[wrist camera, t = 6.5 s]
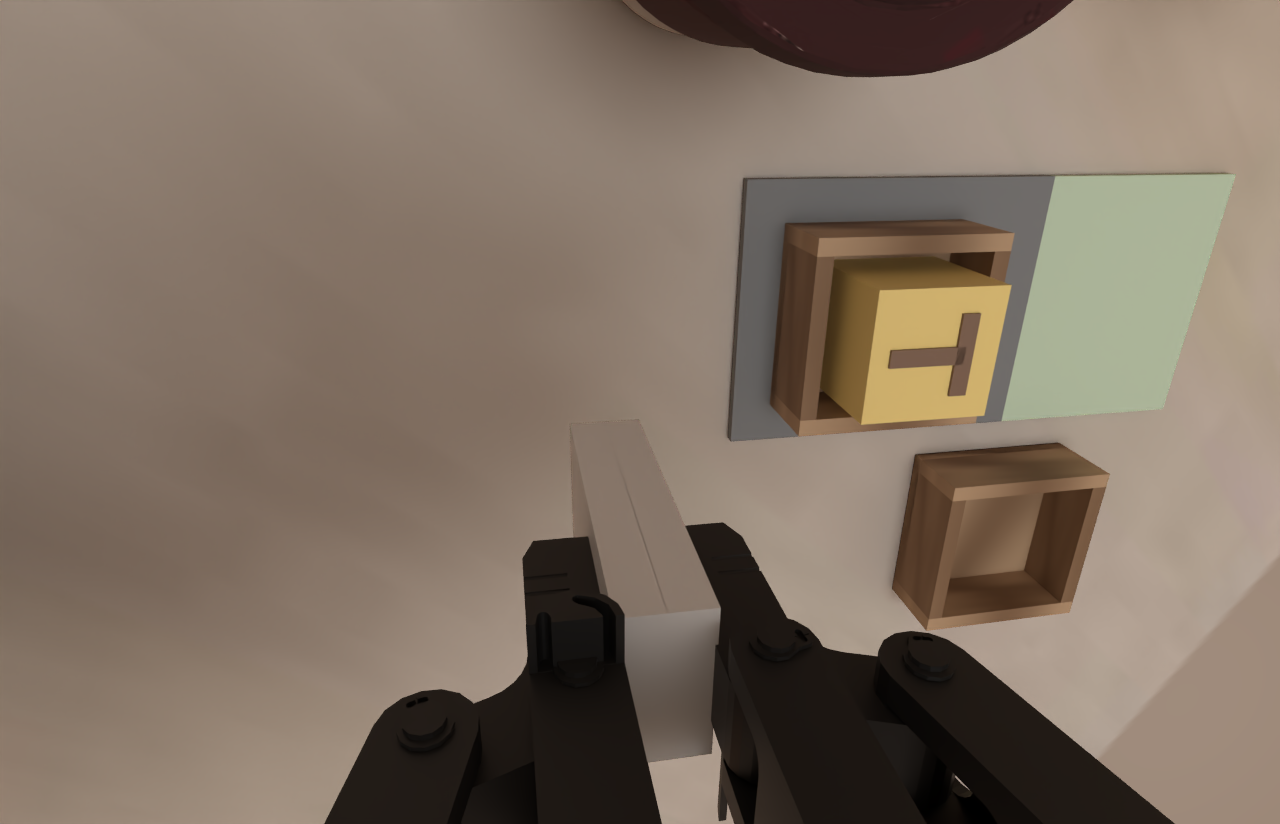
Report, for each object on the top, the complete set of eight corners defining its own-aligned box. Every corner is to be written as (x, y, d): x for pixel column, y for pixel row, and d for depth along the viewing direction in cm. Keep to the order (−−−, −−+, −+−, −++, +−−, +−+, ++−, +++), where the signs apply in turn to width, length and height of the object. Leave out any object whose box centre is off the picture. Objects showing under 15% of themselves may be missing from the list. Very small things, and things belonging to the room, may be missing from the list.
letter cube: (807, 377, 29) (862, 426, 24) (819, 259, 27) (881, 291, 23) (915, 370, 29) (986, 417, 25) (934, 256, 28) (1013, 286, 23)
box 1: (769, 404, 29) (798, 436, 27) (785, 223, 27) (819, 238, 24) (932, 393, 31) (975, 422, 28) (963, 219, 28) (1014, 233, 25)
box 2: (892, 588, 35) (926, 630, 32) (915, 454, 32) (955, 488, 29) (1025, 573, 36) (1069, 612, 33) (1059, 442, 33) (1109, 474, 31)
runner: (727, 437, 30) (730, 441, 30) (744, 178, 26) (747, 179, 26) (1155, 405, 34) (1162, 409, 33) (1226, 173, 30) (1235, 174, 29)
